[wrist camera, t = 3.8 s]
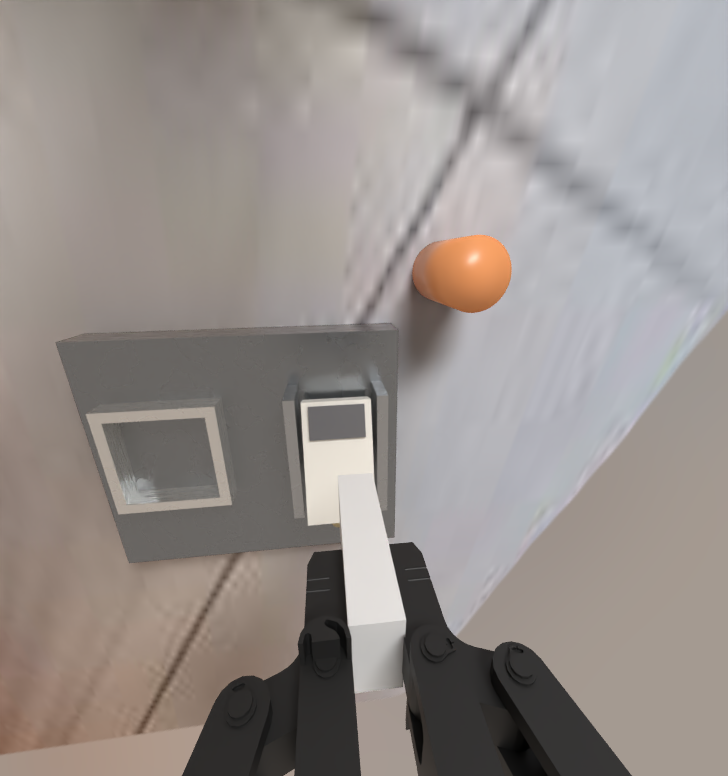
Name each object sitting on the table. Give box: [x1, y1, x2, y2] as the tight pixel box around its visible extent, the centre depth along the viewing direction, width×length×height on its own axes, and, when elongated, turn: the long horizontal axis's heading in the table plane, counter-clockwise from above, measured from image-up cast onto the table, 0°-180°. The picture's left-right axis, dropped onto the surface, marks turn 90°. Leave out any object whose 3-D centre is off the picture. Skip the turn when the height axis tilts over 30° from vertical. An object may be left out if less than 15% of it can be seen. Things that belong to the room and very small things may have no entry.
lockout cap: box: [412, 235, 511, 313], centre depth 25 cm, size 5×5×7 cm
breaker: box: [301, 396, 374, 526], centre depth 26 cm, size 9×5×2 cm, turn 1°
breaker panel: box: [56, 323, 398, 563], centre depth 28 cm, size 20×24×6 cm
